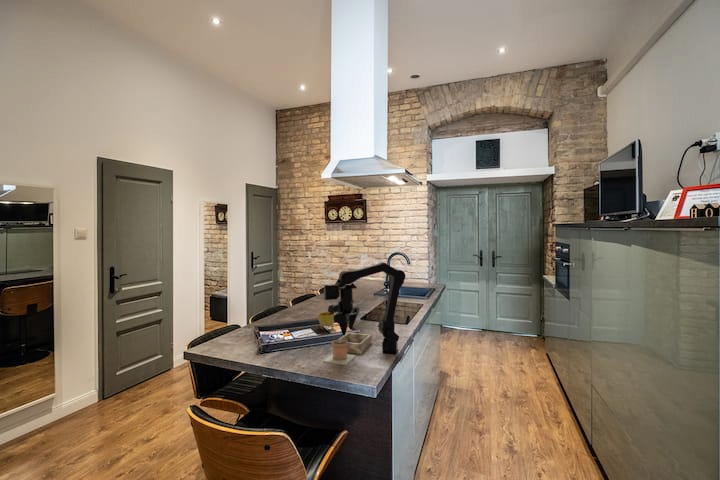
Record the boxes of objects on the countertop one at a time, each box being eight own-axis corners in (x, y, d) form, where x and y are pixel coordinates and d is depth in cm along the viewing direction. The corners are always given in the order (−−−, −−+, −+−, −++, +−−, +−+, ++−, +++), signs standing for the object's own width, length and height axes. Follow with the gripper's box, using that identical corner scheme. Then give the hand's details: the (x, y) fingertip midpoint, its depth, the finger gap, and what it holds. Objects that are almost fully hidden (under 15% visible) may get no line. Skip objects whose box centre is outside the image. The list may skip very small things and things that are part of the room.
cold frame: (371, 343, 174) (371, 334, 174) (361, 353, 159) (361, 344, 159) (347, 341, 179) (347, 332, 179) (335, 350, 163) (334, 341, 163)
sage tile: (355, 356, 155) (355, 355, 155) (346, 365, 145) (346, 363, 145) (333, 354, 159) (333, 352, 159) (323, 362, 149) (323, 360, 149)
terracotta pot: (350, 356, 154) (350, 340, 154) (344, 361, 148) (344, 344, 147) (335, 354, 157) (335, 338, 157) (329, 359, 150) (329, 343, 150)
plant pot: (332, 333, 194) (332, 316, 194) (315, 332, 196) (315, 315, 196) (337, 328, 204) (337, 312, 204) (321, 327, 206) (321, 311, 206)
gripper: (337, 294, 168) (338, 326, 168) (322, 301, 150) (323, 336, 150) (359, 295, 164) (360, 327, 164) (345, 302, 146) (346, 338, 147)
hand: (347, 332), depth 156 cm, fingers open, 9 cm apart
